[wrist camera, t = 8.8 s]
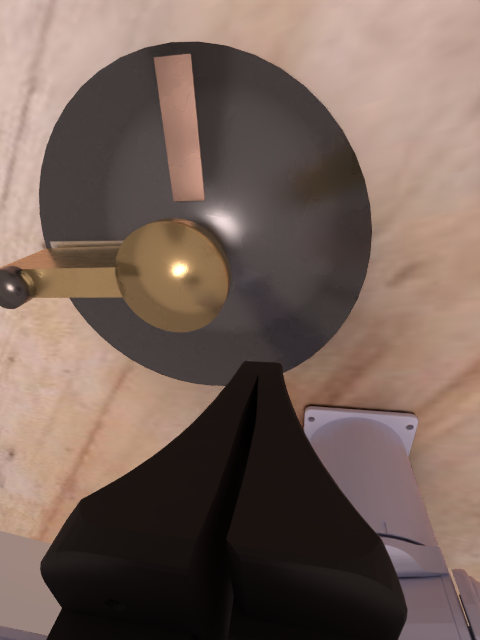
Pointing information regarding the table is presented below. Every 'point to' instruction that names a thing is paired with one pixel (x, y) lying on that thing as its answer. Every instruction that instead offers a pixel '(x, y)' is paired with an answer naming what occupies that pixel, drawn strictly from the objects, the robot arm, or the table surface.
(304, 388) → the table surface
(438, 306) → the table surface
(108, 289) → the tan bar with ball
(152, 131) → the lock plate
